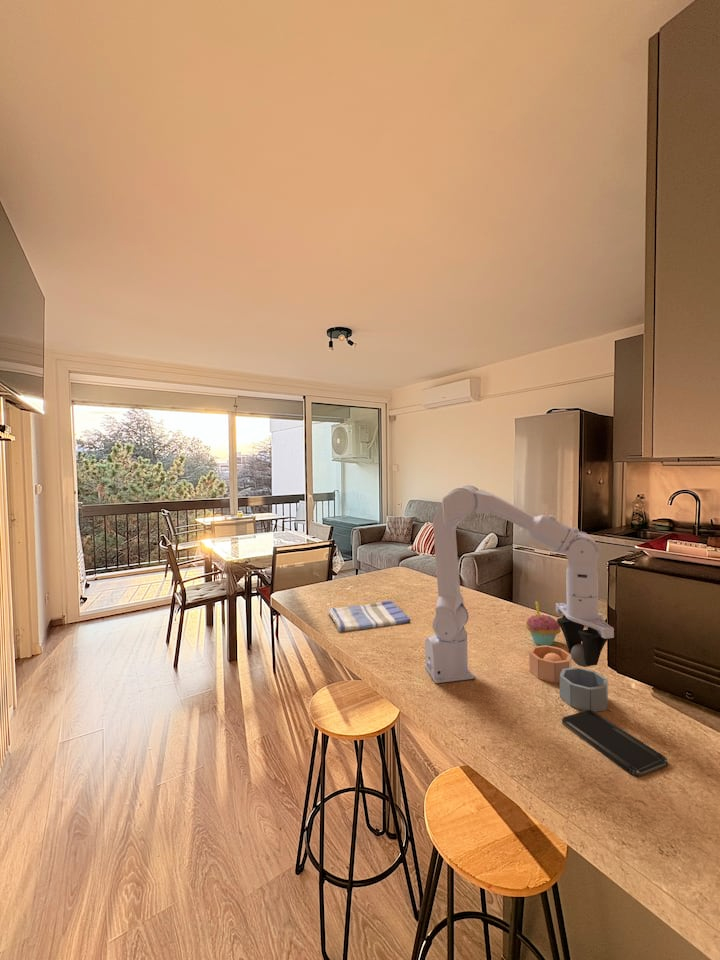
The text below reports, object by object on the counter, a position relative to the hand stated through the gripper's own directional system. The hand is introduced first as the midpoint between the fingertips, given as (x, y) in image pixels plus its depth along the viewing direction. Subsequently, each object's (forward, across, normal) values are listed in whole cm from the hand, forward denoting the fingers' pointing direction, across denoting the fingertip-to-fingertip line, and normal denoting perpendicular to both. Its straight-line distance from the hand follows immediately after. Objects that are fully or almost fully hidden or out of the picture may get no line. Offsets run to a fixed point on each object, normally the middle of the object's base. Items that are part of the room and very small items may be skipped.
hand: (582, 658), depth 84 cm
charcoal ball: (-1, 0, 0) cm, 1 cm away
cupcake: (+9, +26, -8) cm, 29 cm away
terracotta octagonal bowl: (+8, +11, 0) cm, 14 cm away
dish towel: (+9, +55, +35) cm, 66 cm away
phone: (+9, -12, +4) cm, 16 cm away
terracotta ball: (+6, +10, 0) cm, 12 cm away
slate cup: (+8, 0, 0) cm, 8 cm away
